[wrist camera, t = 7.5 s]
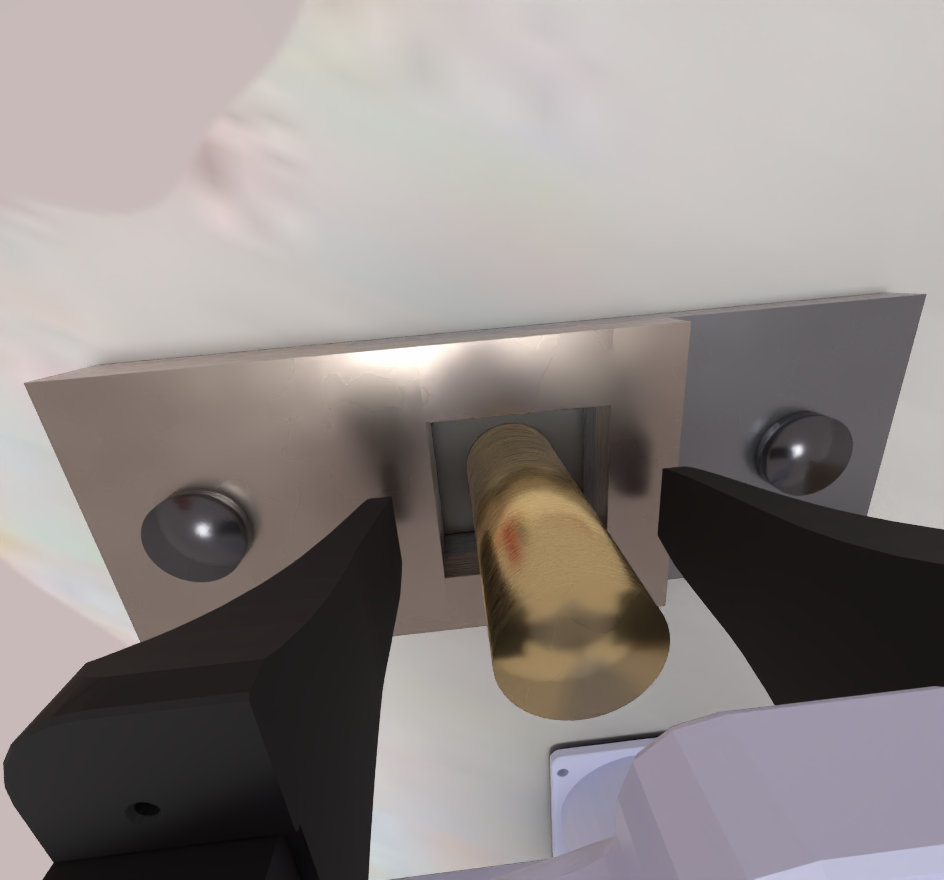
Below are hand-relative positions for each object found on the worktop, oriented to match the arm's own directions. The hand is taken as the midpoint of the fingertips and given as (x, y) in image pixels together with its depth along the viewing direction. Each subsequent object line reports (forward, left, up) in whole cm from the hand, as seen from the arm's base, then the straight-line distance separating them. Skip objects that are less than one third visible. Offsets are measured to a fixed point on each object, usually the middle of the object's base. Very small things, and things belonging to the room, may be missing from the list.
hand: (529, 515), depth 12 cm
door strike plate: (0, 0, -3) cm, 3 cm away
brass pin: (0, 0, -3) cm, 4 cm away
